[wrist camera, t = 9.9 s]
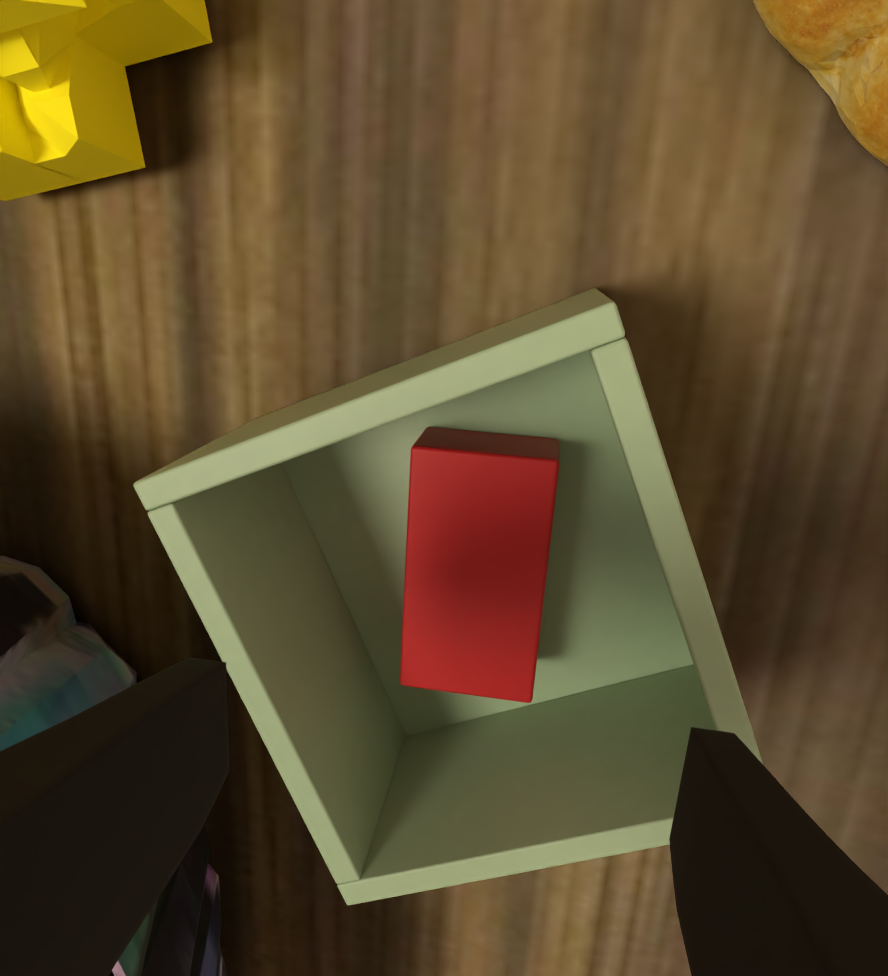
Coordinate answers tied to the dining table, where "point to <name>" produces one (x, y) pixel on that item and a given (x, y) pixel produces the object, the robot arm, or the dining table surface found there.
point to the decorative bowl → (65, 693)
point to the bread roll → (841, 57)
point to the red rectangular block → (477, 561)
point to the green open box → (379, 613)
